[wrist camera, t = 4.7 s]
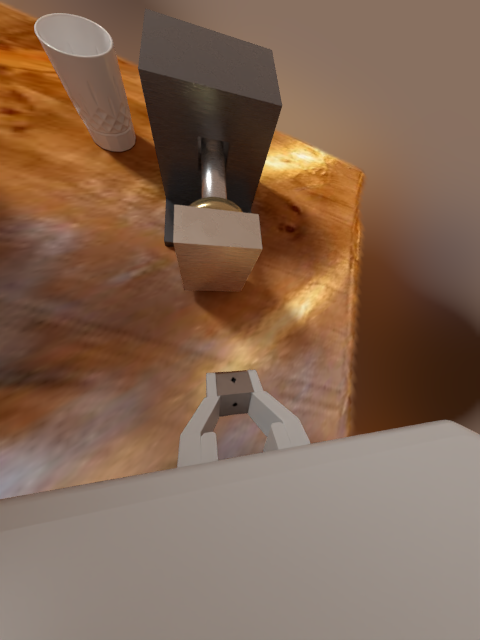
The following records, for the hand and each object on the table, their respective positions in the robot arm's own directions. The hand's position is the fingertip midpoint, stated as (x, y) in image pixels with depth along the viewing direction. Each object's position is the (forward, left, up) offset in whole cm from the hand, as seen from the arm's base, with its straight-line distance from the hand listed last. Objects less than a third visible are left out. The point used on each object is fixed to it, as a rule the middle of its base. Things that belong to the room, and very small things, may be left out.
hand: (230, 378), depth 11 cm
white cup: (-41, +14, -14) cm, 45 cm away
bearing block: (-22, +19, -14) cm, 32 cm away
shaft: (-17, +14, -12) cm, 26 cm away
